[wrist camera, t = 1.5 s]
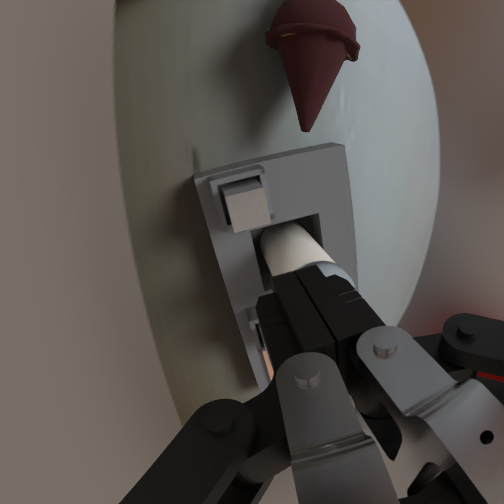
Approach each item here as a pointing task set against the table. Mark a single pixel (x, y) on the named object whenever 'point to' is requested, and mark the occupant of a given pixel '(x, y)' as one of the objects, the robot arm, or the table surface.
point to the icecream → (312, 50)
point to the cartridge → (295, 251)
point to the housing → (280, 209)
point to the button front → (246, 205)
